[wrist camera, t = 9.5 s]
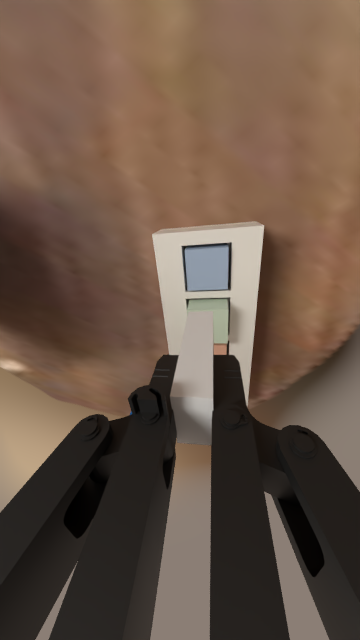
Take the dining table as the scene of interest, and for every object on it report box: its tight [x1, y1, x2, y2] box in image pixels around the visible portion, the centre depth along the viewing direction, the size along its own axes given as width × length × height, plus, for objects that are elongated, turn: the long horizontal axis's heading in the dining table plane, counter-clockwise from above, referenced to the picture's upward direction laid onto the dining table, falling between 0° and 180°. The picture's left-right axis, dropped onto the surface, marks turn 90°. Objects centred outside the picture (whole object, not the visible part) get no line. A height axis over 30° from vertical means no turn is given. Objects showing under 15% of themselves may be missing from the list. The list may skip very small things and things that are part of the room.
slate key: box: [185, 243, 229, 291], centre depth 26 cm, size 5×5×3 cm
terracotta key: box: [214, 343, 227, 355], centre depth 32 cm, size 5×5×3 cm
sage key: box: [187, 299, 228, 343], centre depth 27 cm, size 5×5×3 cm
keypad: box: [152, 221, 264, 405], centre depth 32 cm, size 12×28×5 cm, turn 5°
